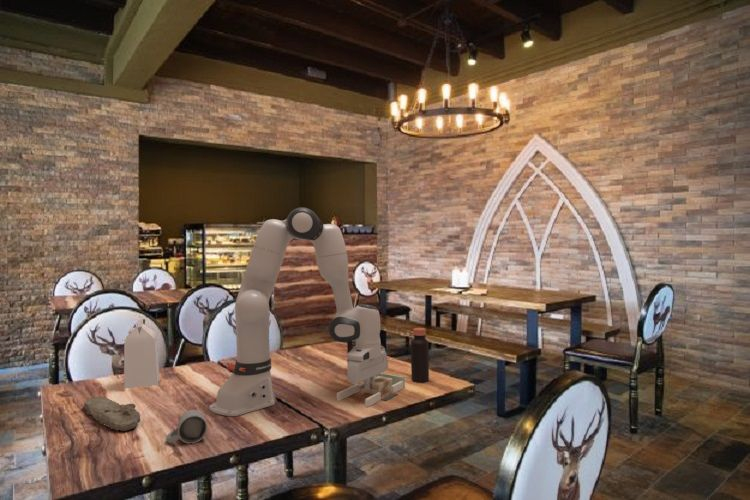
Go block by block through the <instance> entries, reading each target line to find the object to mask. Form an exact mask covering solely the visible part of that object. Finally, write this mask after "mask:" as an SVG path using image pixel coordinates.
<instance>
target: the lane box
mask: <svg viewBox="0 0 750 500" xmlns="http://www.w3.org/2000/svg"><path fill="white" fill-rule="evenodd" d="M378 376H381V377H387V378H392V379H393V385H392V386H391V390H390V394H392V393H397V392H399V391H401V390H402V389H405V388H406V387H405V385H406V384H405V383H406V381H405V380H406V379H405V376H401V375H396V374H390V373H384V372H382V373H380V374H377V375H375V378H376V377H378ZM360 390H361V389H360V384H359V383H355V384H354V385H352V386H349V387H347V388H345V389H343V390H341V391H338V392H336V401H342V400H344V399H346V398H348V397H350V396H352V395H354V394H356V393H358V392H360ZM381 399H382V394H381V393H379V392H378V393H376V394H371V396H369V397H368V396H367V398H364V406H365V408H369V407H371V406H373V405H374V404H377V403H378V402H380V401H382V400H381Z"/></svg>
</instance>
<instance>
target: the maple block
mask: <svg viewBox="0 0 750 500" xmlns="http://www.w3.org/2000/svg"><path fill="white" fill-rule="evenodd" d="M392 385H393V379H392V378H387V377H381V376H378V377H376V378H375V381H374V383H373V388H372V389H370V390H365V389H364V393H365V394H370V395H374V394H376V393H378V392H379V393H381V395H383V394H385V393H387V392H389V391H391V386H392Z"/></svg>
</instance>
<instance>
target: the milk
mask: <svg viewBox="0 0 750 500" xmlns="http://www.w3.org/2000/svg"><path fill="white" fill-rule="evenodd" d="M127 334H128V335H127V336H126V337H125V340H124V351H123V353H124V360H123V361H124V363H123V365H124V366H123V368H124V369H123V371H124V372H123V374H124V376H123V390H124V389H126V388H134V387H141V386H152V385H158V386H159V384H158V381H159V382H160V367H159V355H158V353H159V352H158V341H157V333H156V332H155V331H154V330H152V329H151V328H150V327H148V326H147V325H146V324H145V323H144V316H143V317H142V316H141V317H138V319H137V326H135V327H134V326H133V327H131V329H130V330H129V331H128V332H127Z"/></svg>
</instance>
